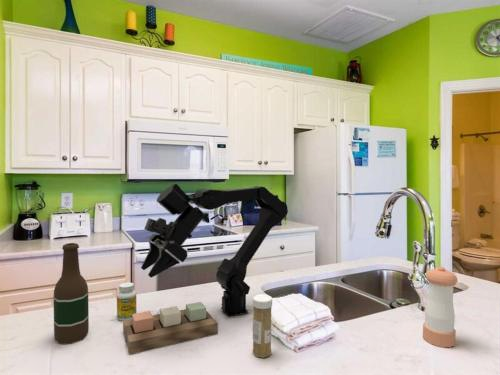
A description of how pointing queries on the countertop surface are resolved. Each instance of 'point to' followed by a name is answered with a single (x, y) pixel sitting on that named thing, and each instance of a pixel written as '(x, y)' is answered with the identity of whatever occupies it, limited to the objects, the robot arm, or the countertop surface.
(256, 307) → the sprinkles bottle
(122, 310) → the supplement bottle
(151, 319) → the terracotta key
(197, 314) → the sage key
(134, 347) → the wooden tray
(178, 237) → the robot arm
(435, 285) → the pepper shaker
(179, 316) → the cream key
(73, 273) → the beer bottle
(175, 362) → the countertop surface
